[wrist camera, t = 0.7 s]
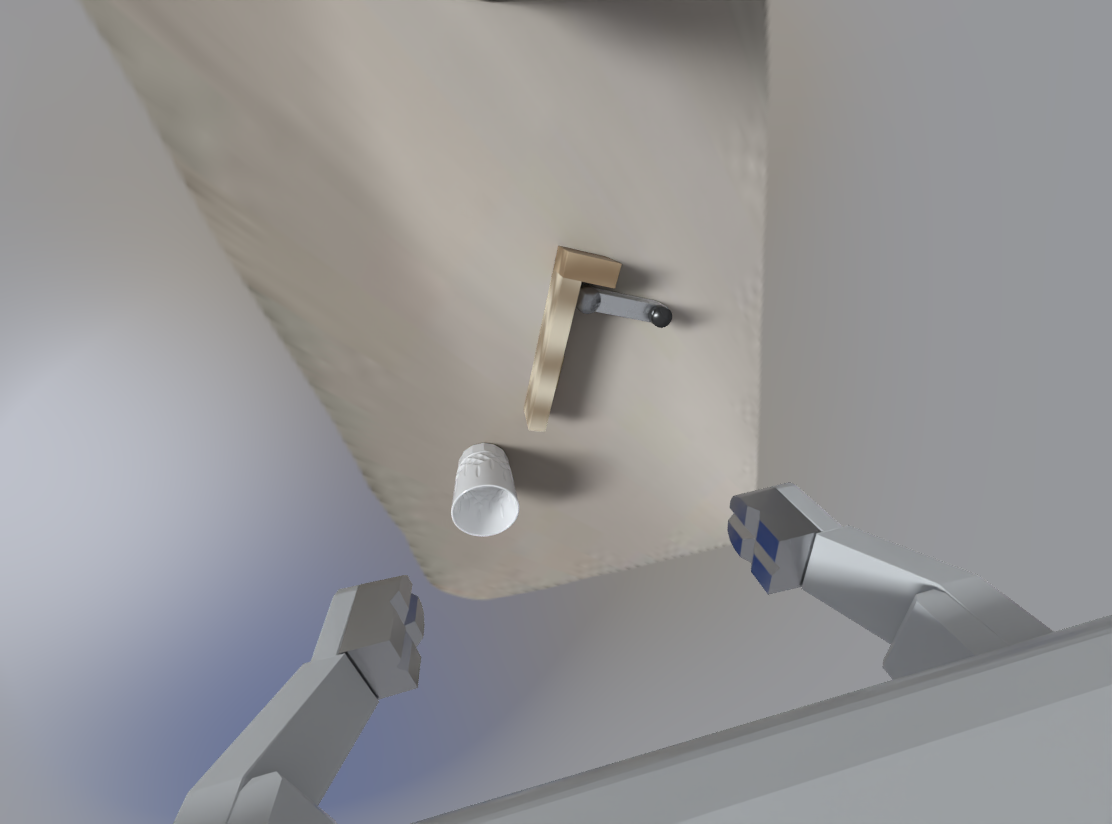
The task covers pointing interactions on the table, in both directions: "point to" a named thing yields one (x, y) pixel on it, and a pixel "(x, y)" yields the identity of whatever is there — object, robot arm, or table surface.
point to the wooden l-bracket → (561, 325)
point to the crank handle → (622, 305)
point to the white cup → (484, 492)
